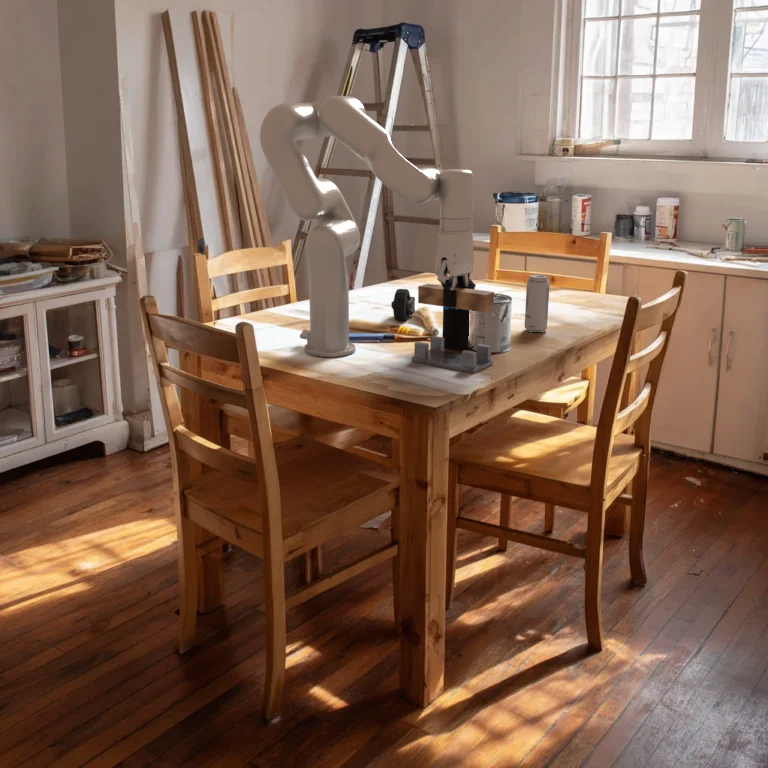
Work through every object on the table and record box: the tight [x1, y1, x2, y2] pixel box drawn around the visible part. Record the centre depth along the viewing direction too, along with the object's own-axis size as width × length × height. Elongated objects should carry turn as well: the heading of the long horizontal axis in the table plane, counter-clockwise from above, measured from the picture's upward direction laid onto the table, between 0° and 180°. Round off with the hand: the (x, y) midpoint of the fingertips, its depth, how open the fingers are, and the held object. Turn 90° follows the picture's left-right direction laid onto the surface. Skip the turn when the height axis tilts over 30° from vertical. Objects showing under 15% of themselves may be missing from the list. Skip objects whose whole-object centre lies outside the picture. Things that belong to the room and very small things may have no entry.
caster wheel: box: [391, 288, 416, 323], centre depth 255 cm, size 6×10×15 cm
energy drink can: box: [524, 273, 551, 332], centre depth 241 cm, size 6×6×15 cm
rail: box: [417, 283, 495, 313], centre depth 209 cm, size 18×4×4 cm, turn 55°
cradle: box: [411, 335, 494, 374], centre depth 213 cm, size 17×9×4 cm, turn 55°
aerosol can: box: [441, 276, 477, 351], centre depth 225 cm, size 8×8×20 cm
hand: (455, 303), depth 209 cm, fingers closed on rail, 4 cm apart
